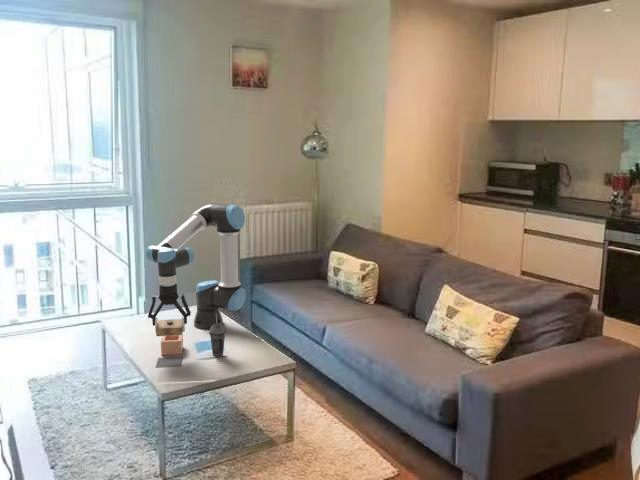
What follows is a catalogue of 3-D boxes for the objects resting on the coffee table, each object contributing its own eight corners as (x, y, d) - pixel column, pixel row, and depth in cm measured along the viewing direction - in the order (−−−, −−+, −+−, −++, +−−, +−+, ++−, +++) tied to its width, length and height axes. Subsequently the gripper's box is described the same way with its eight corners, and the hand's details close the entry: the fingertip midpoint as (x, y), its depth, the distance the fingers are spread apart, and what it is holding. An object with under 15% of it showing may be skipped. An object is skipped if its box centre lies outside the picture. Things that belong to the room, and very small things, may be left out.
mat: (183, 358, 267) (183, 356, 266) (181, 367, 256) (181, 366, 256) (158, 359, 265) (158, 357, 265) (155, 369, 254) (155, 367, 254)
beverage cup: (212, 360, 264) (211, 317, 261) (207, 354, 271) (206, 313, 267) (228, 357, 268) (227, 315, 264) (223, 351, 274) (222, 310, 270)
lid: (183, 326, 268) (183, 317, 267) (182, 334, 258) (181, 325, 257) (158, 327, 267) (158, 318, 266) (156, 336, 256) (155, 327, 255)
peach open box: (183, 348, 278) (182, 334, 277) (181, 355, 269) (181, 341, 268) (163, 349, 277) (163, 334, 275) (161, 356, 268) (160, 341, 267)
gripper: (195, 280, 263) (197, 327, 268) (141, 282, 259) (144, 329, 264) (194, 285, 256) (196, 333, 260) (139, 287, 252) (142, 335, 257)
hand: (170, 331), depth 262 cm, fingers closed on lid, 11 cm apart
